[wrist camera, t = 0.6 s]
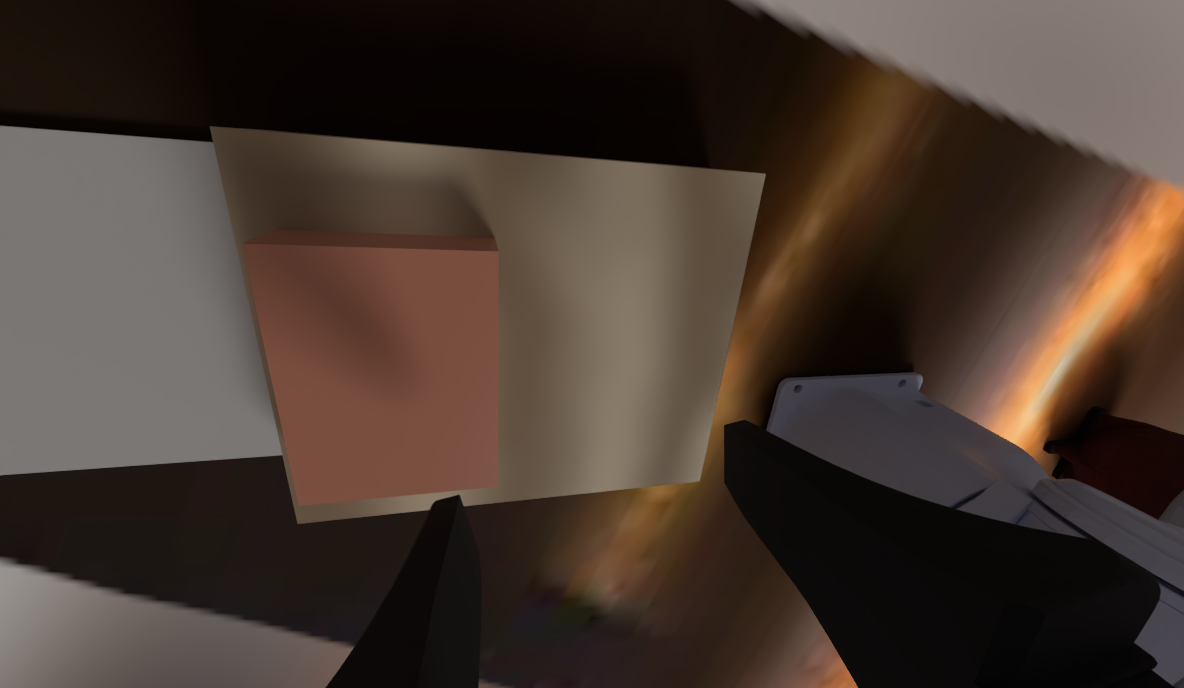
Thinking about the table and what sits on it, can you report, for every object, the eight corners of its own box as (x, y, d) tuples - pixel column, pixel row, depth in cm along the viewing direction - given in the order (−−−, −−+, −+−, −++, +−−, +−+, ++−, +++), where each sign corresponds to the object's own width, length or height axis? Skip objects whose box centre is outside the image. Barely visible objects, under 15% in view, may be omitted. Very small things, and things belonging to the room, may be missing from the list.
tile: (495, 237, 14) (498, 251, 12) (495, 451, 17) (498, 486, 15) (274, 229, 13) (241, 243, 11) (317, 464, 16) (298, 505, 14)
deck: (710, 168, 19) (765, 173, 15) (665, 431, 24) (699, 481, 20) (271, 130, 15) (209, 126, 11) (328, 456, 20) (297, 523, 16)
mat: (257, 145, 15) (252, 145, 15) (314, 447, 20) (310, 452, 19) (-352, 98, 12) (-378, 96, 11) (-110, 476, 16) (-122, 483, 16)
